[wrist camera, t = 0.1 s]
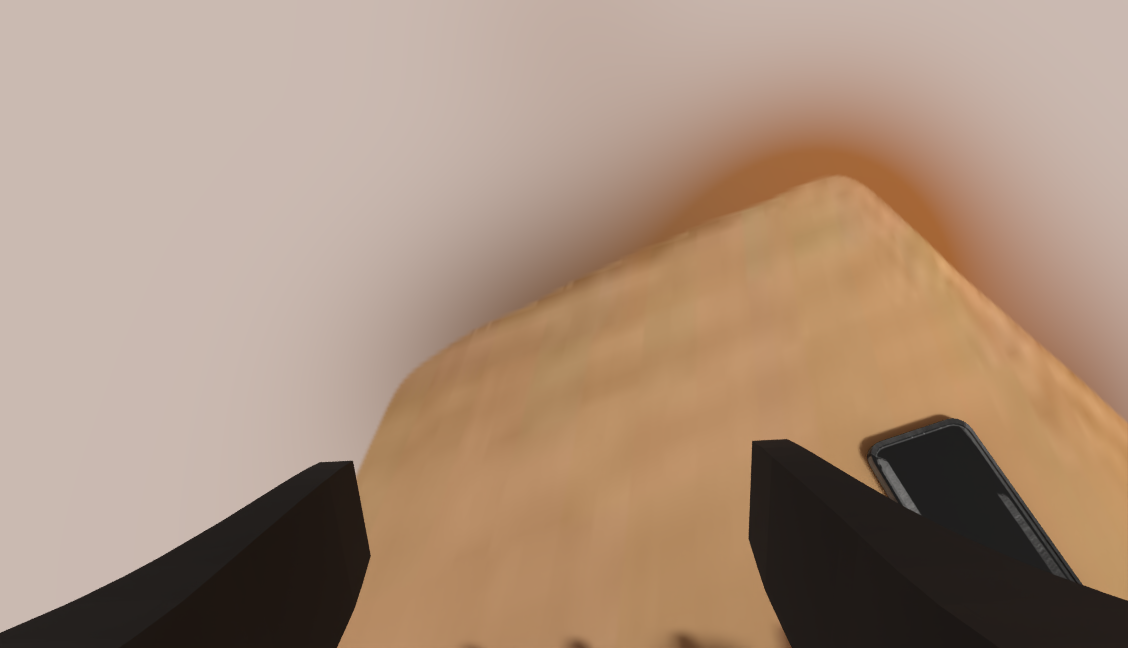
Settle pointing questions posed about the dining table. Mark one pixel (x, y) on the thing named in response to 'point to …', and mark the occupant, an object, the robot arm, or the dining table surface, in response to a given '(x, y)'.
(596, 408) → the dining table surface
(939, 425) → the phone
